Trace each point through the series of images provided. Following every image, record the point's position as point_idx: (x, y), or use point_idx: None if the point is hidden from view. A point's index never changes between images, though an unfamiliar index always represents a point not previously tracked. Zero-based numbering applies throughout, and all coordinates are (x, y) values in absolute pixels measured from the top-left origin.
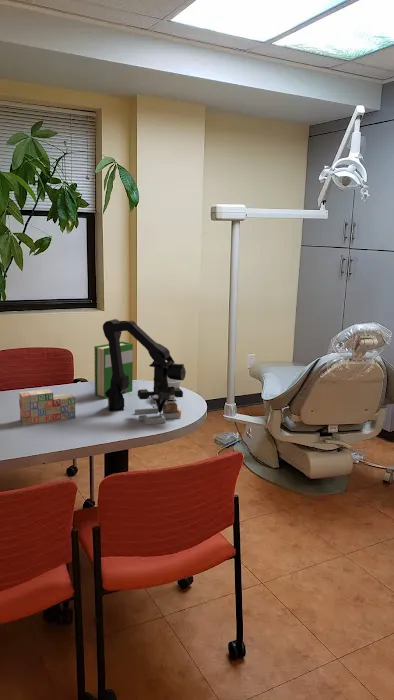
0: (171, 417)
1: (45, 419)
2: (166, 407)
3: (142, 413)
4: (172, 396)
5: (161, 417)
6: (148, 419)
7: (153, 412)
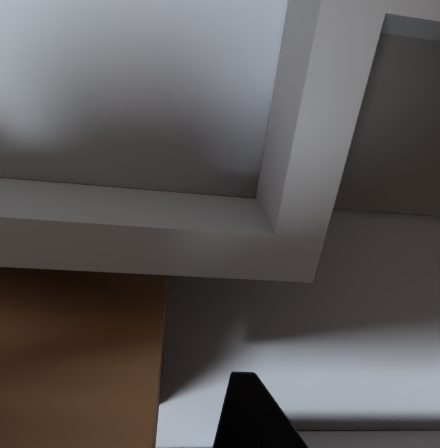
0: (83, 192)
1: None
2: (137, 432)
3: (403, 434)
4: None
5: (339, 131)
6: None
7: None
